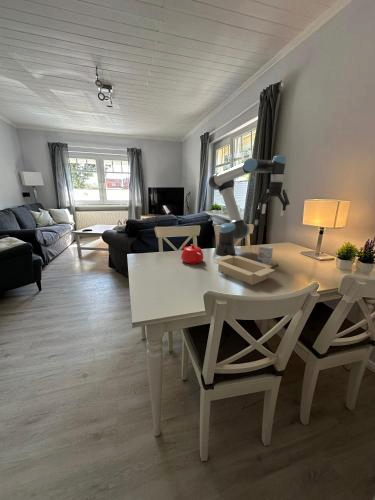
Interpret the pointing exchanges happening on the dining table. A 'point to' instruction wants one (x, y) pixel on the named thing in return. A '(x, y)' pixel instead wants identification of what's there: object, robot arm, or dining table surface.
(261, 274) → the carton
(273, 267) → the board
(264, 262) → the ink box
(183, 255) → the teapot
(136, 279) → the dining table surface
